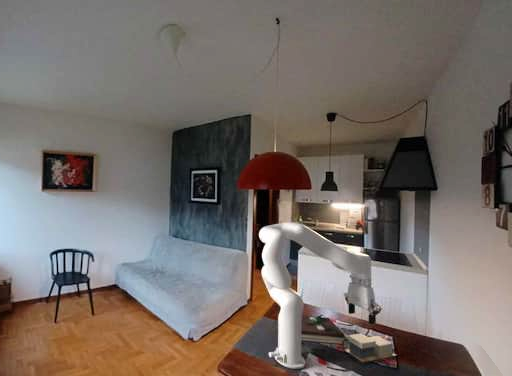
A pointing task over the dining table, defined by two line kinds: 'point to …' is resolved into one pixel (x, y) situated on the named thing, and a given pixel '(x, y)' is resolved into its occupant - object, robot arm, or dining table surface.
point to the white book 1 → (361, 341)
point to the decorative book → (320, 331)
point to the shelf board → (370, 357)
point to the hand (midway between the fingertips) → (361, 318)
